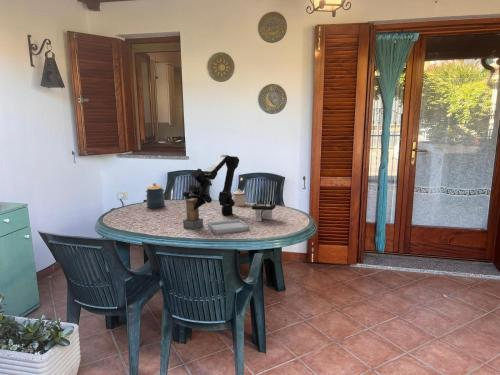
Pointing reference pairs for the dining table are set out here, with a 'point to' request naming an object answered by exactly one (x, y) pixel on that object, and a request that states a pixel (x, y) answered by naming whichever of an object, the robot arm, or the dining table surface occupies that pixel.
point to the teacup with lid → (239, 198)
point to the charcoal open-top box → (193, 223)
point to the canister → (155, 196)
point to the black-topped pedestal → (263, 210)
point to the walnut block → (192, 209)
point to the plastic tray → (228, 226)
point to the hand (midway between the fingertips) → (190, 209)
